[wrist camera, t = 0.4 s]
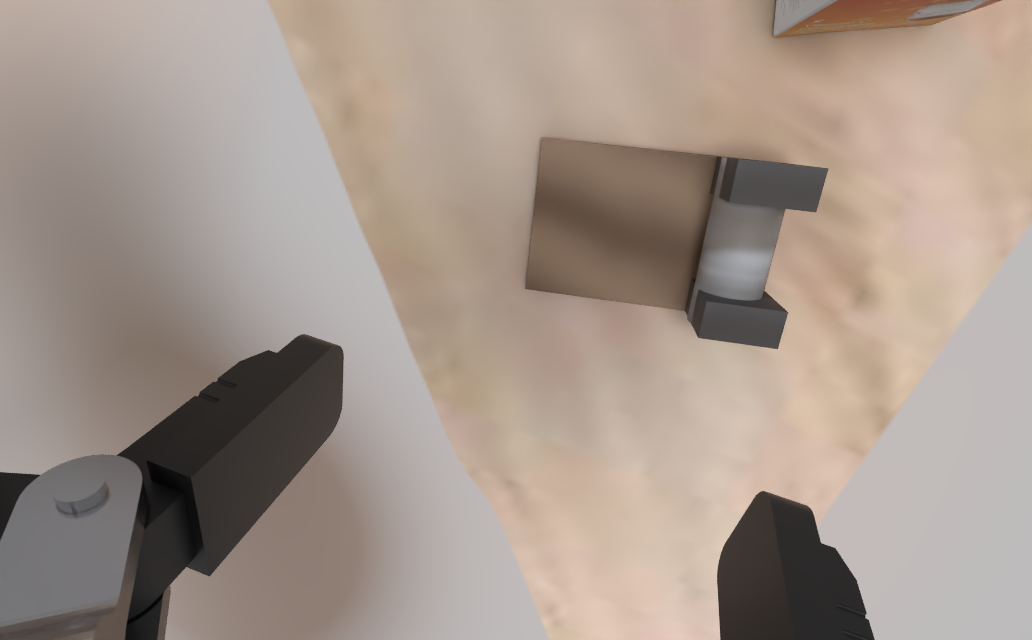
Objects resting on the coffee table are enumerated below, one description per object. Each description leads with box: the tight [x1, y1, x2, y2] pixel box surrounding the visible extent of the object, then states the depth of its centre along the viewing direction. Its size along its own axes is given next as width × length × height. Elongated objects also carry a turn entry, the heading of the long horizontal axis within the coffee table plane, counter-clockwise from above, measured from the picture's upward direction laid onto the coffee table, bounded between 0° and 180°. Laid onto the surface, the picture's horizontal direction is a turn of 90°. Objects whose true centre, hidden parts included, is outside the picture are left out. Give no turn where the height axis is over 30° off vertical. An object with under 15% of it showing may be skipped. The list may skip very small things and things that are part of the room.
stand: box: [525, 138, 828, 349], centre depth 30 cm, size 9×14×6 cm, turn 84°
